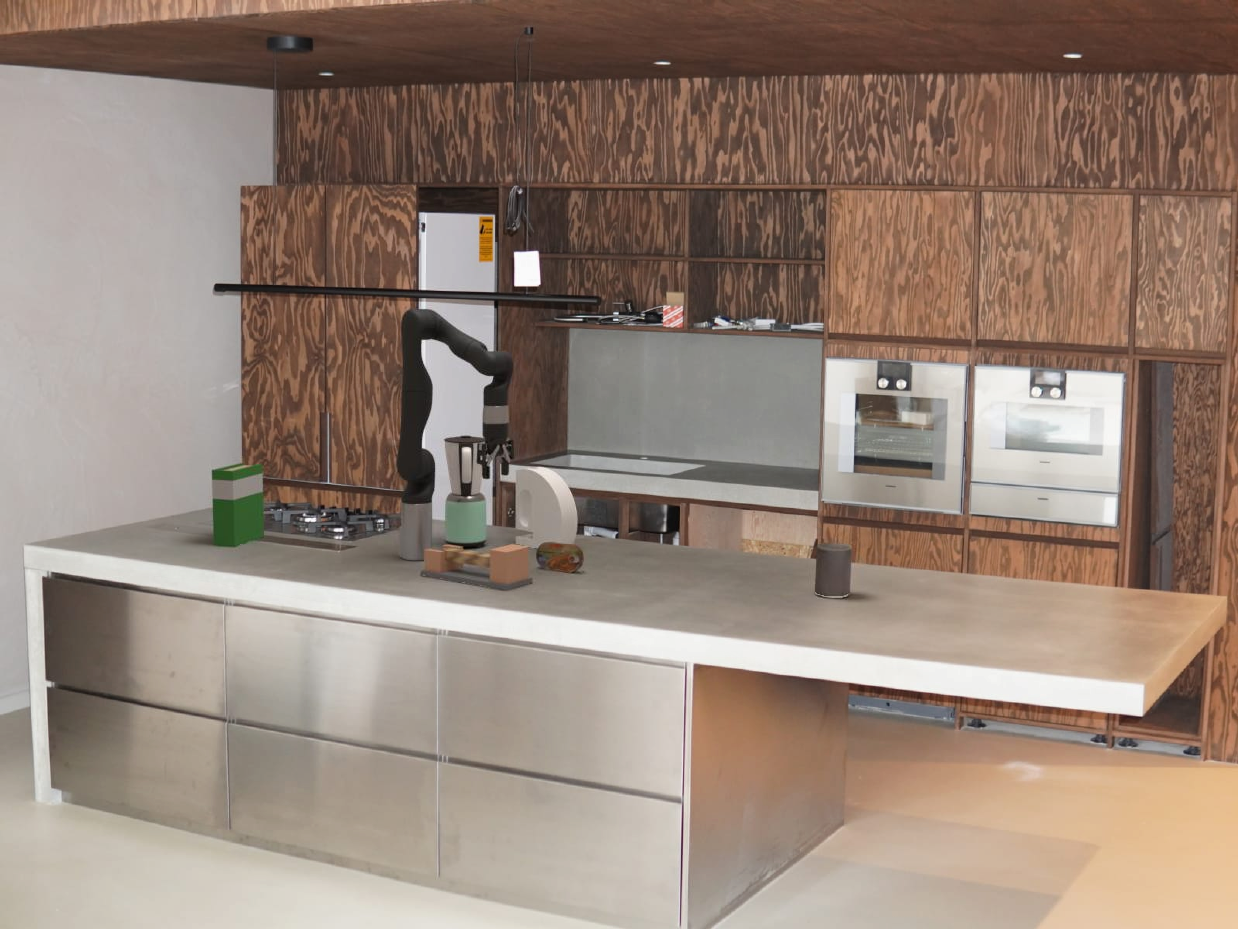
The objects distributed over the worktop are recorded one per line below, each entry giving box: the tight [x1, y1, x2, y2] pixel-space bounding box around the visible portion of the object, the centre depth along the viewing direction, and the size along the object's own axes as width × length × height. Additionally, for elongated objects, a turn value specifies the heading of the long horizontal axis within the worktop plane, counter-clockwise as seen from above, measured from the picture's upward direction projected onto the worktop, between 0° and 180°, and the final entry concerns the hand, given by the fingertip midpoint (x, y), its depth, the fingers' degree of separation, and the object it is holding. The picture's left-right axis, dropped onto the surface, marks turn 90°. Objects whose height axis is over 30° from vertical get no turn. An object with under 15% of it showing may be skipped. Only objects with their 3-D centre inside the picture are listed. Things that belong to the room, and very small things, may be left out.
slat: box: [440, 548, 490, 569], centre depth 399 cm, size 24×4×3 cm, turn 56°
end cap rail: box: [420, 543, 533, 591], centre depth 399 cm, size 31×12×10 cm, turn 56°
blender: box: [443, 435, 488, 549], centre depth 444 cm, size 19×13×35 cm
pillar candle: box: [814, 541, 853, 596], centre depth 386 cm, size 10×10×15 cm
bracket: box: [515, 466, 578, 549], centre depth 444 cm, size 7×21×25 cm, turn 48°
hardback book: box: [211, 462, 265, 548], centre depth 448 cm, size 18×7×24 cm, turn 164°
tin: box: [535, 542, 585, 574], centre depth 413 cm, size 15×3×8 cm, turn 62°
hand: (495, 477), depth 405 cm, fingers open, 8 cm apart
